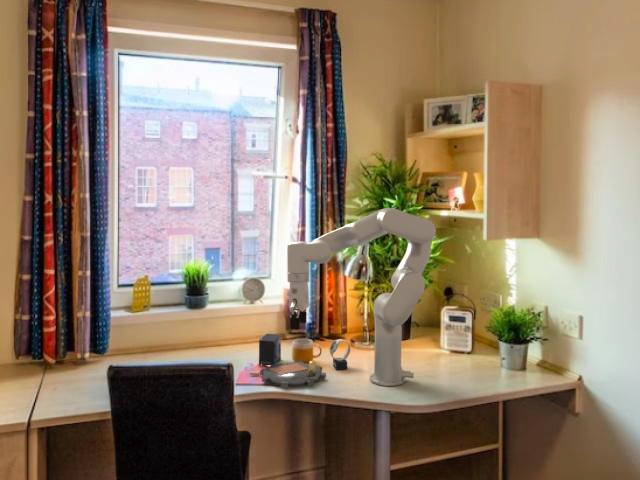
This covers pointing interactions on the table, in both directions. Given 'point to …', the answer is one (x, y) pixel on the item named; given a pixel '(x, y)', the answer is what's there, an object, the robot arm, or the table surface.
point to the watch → (339, 362)
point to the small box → (270, 349)
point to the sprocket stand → (254, 373)
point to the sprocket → (293, 374)
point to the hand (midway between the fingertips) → (298, 325)
